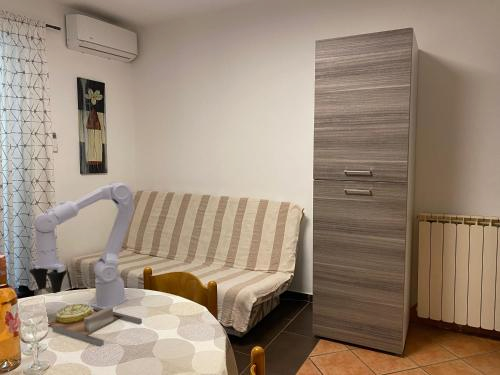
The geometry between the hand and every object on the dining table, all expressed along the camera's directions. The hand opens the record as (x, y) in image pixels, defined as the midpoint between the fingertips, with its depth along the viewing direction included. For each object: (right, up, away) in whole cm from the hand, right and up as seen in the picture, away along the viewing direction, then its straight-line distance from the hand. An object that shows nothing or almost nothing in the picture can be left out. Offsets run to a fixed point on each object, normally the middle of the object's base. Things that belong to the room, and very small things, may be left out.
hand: (49, 290), depth 121 cm
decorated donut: (+8, -9, 0) cm, 13 cm away
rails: (+19, -10, -7) cm, 22 cm away
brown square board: (+12, -9, -3) cm, 16 cm away
